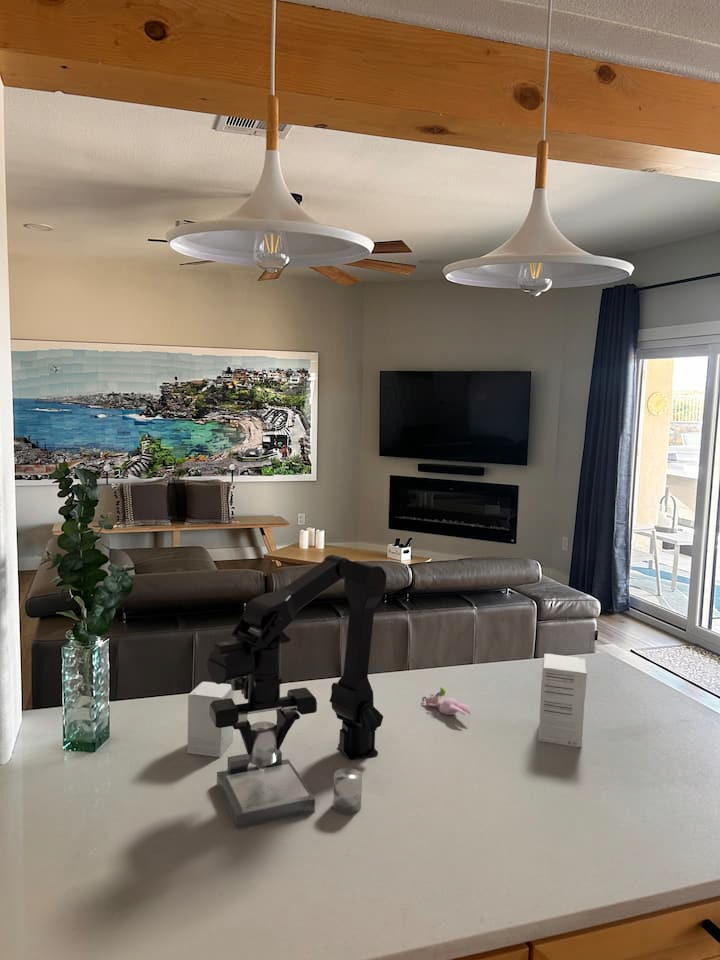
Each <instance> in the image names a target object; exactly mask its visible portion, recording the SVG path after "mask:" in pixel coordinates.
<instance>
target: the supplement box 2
mask: <svg viewBox="0 0 720 960" xmlns="http://www.w3.org/2000/svg"><path fill="white" fill-rule="evenodd" d="M542 661H543V662H542V670H541V671H542V672H541V673H542V674H541V687H540V688H541V690H540V705H539V706H540V707H539V723H538V724H539V725H538V742H544V743H550V744H555V745H562V746H570V747H575V748H582V746H583V732H584V731H583V730H584V717H585V700H586V691H587V690H586V689H587V677H588V672H587V666H586V665H587V662H586V661H587V659H586V658H584V657H576V656H569V655H568V656H567V655H561V654H555V653H543V660H542Z"/></svg>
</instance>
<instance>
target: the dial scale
mask: <svg viewBox="0 0 720 960" xmlns="http://www.w3.org/2000/svg"><path fill="white" fill-rule="evenodd" d="M216 785H217V787H218V790H219V792H220V795H221V797H222V799H223V801H224V803H225V806H226V808H227V810H228V812H229V815H230V816H231V819H232V821H233V824H234V826H235V828H236V829H242V828H248V827H253V826H256V825H262V824H265V823H270V822H274V821H279V820H283V819H288V818H292V817H297V816H298V817H299V816H302V815H307V814H311V813H315V811H316V808H315V807H316V798H315V797H314V795H313V794H312V792H311V790H310V789H309V788H308V787H307V784H306V783H305V781H304V780H303V779H302V777H301V776H300V774H299V773H298V771H297V770H296V768H295V767H294V765H293V764H292V762H291V760H290V759H288V758H286V759H283V752H282V751H281V749H279V750H277V760H276V761H275V762H274V763H273V764H270V765H267V766H257V765H254V764H252V763H251V762H250V761H249V755H248V753H244V754H238V755H231V756H227V770H222V771H216Z"/></svg>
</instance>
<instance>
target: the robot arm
mask: <svg viewBox="0 0 720 960" xmlns="http://www.w3.org/2000/svg"><path fill="white" fill-rule="evenodd" d="M387 576H388V575H387V572H386V571H385V570H384V568H383V567H382V566H379V565H375V564H372V563H369V562H368V563H367V562H365V561H361V560H354V561H352V560H349V559H348V558H347V557H344V556H340V555H336V554H330V555H327V556H325V557H324V558H323V561H321V562H320V563H318V564H317V565H316V566H314V567H312V568H311V569H309V570H308V571H306V572H305V573H304V574H302V575H301V576H299V577H297V578H296V579H294V580H293V581H292V582H290V583H289V584H288V585H286V586H285V587H283V588H281V589H279V590H276V591H271V592H266V593H263V594H261V595H259V596H257V597H254V598H252V599H251V600H249V602H247V603H246V605H245V607H244V608H245V609H244V612H243V613H242V615H241V617H239V621H238V622H237V624H236V626H235V627H234V628H233V629H234V630H233V631H232V633H231V634H230V636H231V638H233V639H231V640H229V641H228V640H227V641H220V642H216V643H215V644H214V648H213V649H214V650H212V651H211V652H210V653H209V655H208V658H207V660H206V665H207V672H208V674H209V677H210V678H211V680H212V682H213V683H216V684H222V683H223V684H226V683H228V682H230V684H231V688H232V690H233V691H234V692H236V691H240V693H241V695H243V698H244V699H245V700H247V702H245V703H244V702H243V703H239V704H236V703H235V702H233V700H232V698H229V699H222V700H215V701H213V702H212V703H211V704H210V706H209V715H210V717H211V719H212V721H213V723H214V725H215V727H217V728H223V727H229V726H233V730H239V733H240V735H241V738H242V739H241V740H242V742H243V744H244V748H245V750H246V754H248V755H251V725H252V724H251V723H250V722H249V720H248V715H252V714H257V713H264V712H270V711H275V712H276V723H275V724H276V725H277V750H279V749H280V748H281V747H282V744H283V743H284V740H285V738H286V737H287V734H288V732H289V731H290V729H291V728H292V726H293V725H294V723H295V721H298V720H300V719H301V715H309V714H314V713H316V712H318V702H317V698H316V696H314V694H312V692H311V691H310V690H309V689H308V688H307V687H299V688H293V689H288V690H287V692H286V693H287V694H286V695H284V696H281V685H282V684H283V681H282V679H283V678H282V677H281V653H282V650H281V648H282V647H281V645H283V644H286V643H289V642H291V641H292V638H291V637H290V636H288V635H287V634H285V630H286V629H287V628H288V627H289V626H290V625H291V624H292V623H293V621H294V619H295V617H296V614H297V613H298V612H299V610H301V609H302V608H303V607H304V606H306V605H307V604H308V603H310V602H312V601H313V600H314V599H315V598H317V597H319V596H320V595H321V594H323V593H324V592H326V591H327V590H328V589H330V588H331V587H333V586H334V585H335V584H337V583H338V582H339V581H341V580H343V583H344V592H345V596H346V598H347V600H348V603H349V615H348V624H347V625H348V626H347V634H346V644H345V655H344V666H343V673H342V676H341V677H340V679H338V681H337V682H332V684H331V694H330V699H329V703H331V710H333V712H334V713H335V716H336V719H338V720H341V721H342V722H341V729H339V740H338V741H339V743H338V745H337V746H338V748H339V749H340V750H341V752H342V753H343V754H344V755H345V756H346V758H347V759H348V760H350V761H353V760H358V759H363V758H368V757H373V756H378V755H379V752H378V750H377V749H376V748H375V744H376V732H377V731H378V730H377V729H378V728H379V727H382V723H383V719H384V715H383V714H382V713H381V712H380V711H379V710H378V709H377V708H376V707H375V706H374V691H373V688H372V686H371V683H370V680H369V677H368V676H369V666H370V655H371V645H372V637H373V627H374V626H373V624H374V616H375V608H376V607H377V605H378V604H379V602H380V601H381V600H382V599H383V597H384V594H385V589H386V585H387ZM249 630H252V631H255V632H256V633H260V634H259V635H258V634H255V633H252V632H250V631H249ZM280 750H281V749H280Z"/></svg>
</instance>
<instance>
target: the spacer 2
mask: <svg viewBox="0 0 720 960" xmlns="http://www.w3.org/2000/svg"><path fill="white" fill-rule="evenodd" d="M362 787H363V774H362V772H361V771H360V770H358V769H356V768H351V767H344V768H339V769H337V770H336V771H335V772H334V774H333V800H332V801H333V802H332V804H333V805H332V808H333V810H334V811H335V812H336V813H337V814H340V815H345V816H350V815H355V814H357V813H359V812H360V811H361V809H362V790H363V789H362Z"/></svg>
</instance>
